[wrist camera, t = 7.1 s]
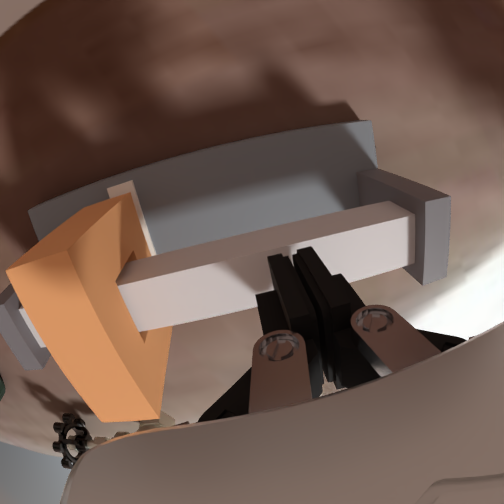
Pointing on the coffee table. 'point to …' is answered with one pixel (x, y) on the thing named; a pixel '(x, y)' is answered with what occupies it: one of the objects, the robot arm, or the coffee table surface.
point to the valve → (85, 440)
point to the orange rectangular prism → (95, 310)
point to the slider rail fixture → (252, 225)
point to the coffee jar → (2, 388)
